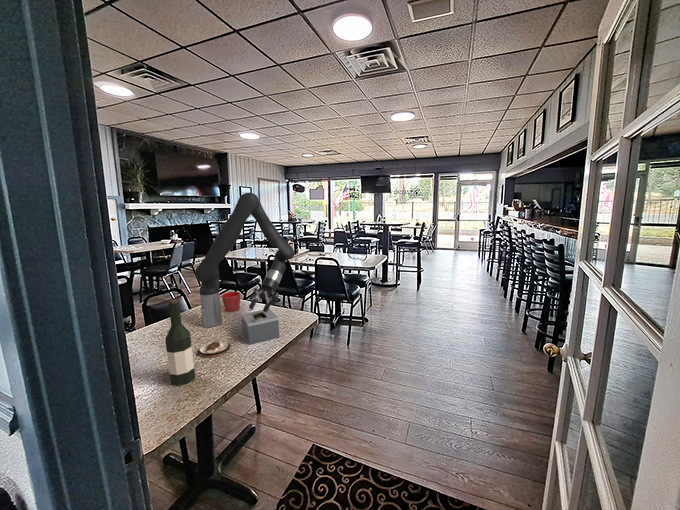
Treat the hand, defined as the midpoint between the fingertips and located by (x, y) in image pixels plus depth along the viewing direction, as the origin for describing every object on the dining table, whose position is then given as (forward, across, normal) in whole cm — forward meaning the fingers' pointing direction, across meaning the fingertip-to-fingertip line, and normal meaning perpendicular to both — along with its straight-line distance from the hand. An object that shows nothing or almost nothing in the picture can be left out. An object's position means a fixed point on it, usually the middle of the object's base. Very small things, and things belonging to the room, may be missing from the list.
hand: (257, 310), depth 141 cm
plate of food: (+23, -8, -4) cm, 25 cm away
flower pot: (-6, -40, +24) cm, 48 cm away
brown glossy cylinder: (+8, 0, +10) cm, 13 cm away
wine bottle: (+37, -1, -18) cm, 41 cm away
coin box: (+9, 0, +10) cm, 13 cm away
